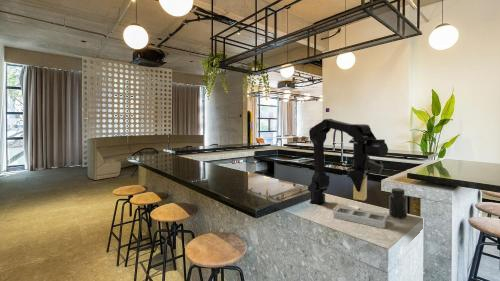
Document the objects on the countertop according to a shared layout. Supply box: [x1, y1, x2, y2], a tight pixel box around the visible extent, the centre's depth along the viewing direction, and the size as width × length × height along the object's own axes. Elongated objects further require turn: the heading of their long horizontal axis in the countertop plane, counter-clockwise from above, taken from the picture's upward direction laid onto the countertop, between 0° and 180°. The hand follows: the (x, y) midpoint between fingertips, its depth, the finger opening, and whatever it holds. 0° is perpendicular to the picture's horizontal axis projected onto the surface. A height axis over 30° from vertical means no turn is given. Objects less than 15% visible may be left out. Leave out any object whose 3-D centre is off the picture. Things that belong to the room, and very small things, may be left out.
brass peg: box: [352, 175, 368, 201], centre depth 104 cm, size 4×4×10 cm
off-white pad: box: [332, 203, 360, 211], centre depth 118 cm, size 10×9×1 cm
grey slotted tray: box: [332, 207, 388, 229], centre depth 105 cm, size 20×8×2 cm, turn 54°
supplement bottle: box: [388, 187, 408, 220], centre depth 108 cm, size 7×7×12 cm
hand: (360, 190), depth 104 cm, fingers closed on brass peg, 4 cm apart
